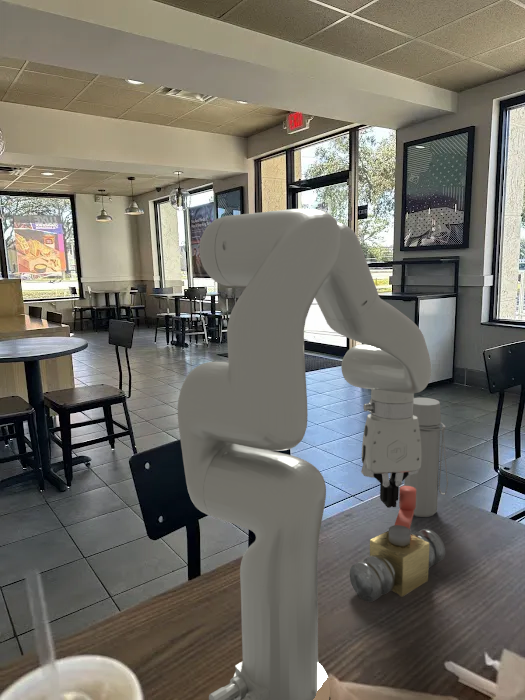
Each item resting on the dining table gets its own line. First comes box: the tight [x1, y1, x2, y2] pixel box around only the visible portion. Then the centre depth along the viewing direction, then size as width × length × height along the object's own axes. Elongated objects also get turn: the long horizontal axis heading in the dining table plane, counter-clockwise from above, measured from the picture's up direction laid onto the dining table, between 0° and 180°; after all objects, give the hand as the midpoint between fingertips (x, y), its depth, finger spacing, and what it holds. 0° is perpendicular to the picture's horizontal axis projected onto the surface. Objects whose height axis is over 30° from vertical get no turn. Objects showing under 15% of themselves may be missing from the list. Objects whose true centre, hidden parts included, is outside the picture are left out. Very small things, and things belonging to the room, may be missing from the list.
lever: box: [388, 485, 416, 546], centre depth 91 cm, size 13×4×5 cm, turn 157°
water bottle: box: [403, 397, 449, 518], centre depth 110 cm, size 9×8×25 cm
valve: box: [349, 528, 446, 603], centre depth 87 cm, size 18×7×7 cm, turn 127°
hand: (388, 504), depth 95 cm, fingers closed
